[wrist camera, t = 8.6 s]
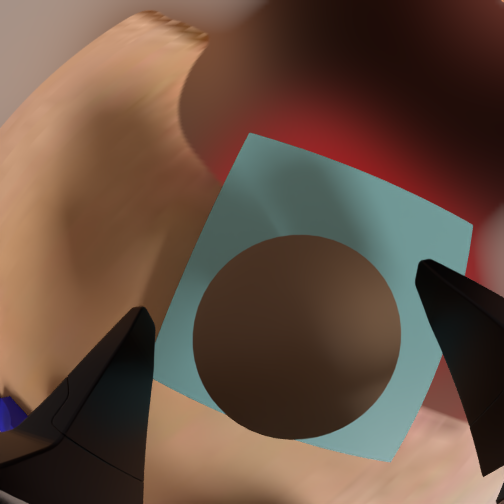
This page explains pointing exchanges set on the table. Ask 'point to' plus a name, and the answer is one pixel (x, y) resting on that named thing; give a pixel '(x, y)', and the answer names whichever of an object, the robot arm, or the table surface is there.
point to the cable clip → (10, 414)
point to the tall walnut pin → (296, 337)
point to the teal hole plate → (336, 228)
